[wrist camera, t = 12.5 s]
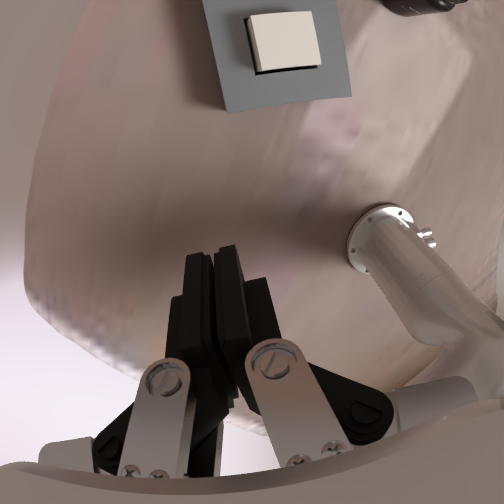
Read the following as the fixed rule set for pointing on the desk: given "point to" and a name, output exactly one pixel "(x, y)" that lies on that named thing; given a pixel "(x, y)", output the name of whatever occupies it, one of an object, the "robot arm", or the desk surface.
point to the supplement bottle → (420, 6)
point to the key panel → (281, 83)
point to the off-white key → (282, 40)
